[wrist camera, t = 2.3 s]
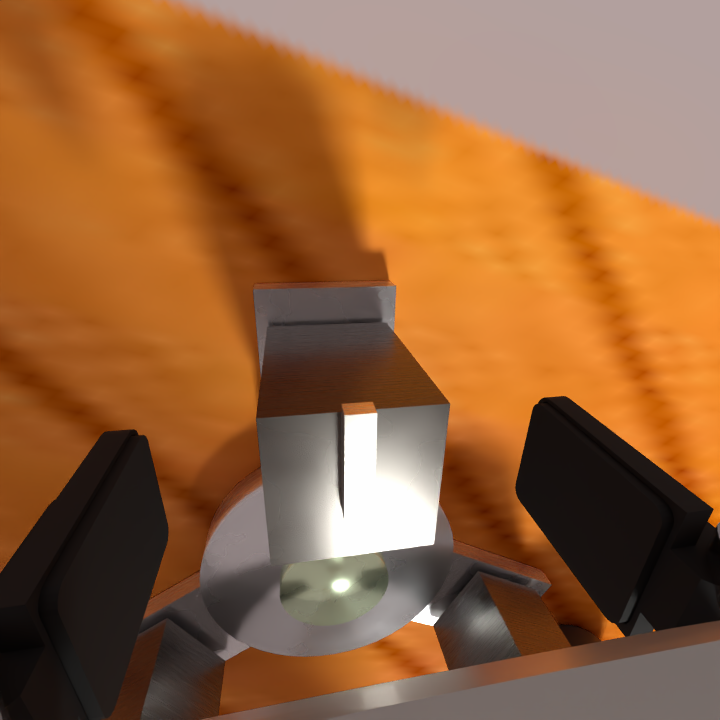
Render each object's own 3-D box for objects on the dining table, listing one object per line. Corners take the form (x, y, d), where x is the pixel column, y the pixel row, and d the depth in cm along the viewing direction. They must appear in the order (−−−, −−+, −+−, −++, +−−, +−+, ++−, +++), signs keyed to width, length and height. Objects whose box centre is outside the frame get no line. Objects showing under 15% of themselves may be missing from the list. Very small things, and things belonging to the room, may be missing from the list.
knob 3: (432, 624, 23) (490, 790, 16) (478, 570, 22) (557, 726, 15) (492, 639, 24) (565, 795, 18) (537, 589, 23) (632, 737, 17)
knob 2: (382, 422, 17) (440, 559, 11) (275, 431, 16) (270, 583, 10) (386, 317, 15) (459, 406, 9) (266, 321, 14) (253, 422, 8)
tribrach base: (406, 722, 28) (417, 770, 26) (58, 674, 21) (29, 736, 19) (659, 438, 22) (704, 468, 20) (286, 220, 14) (287, 225, 12)
